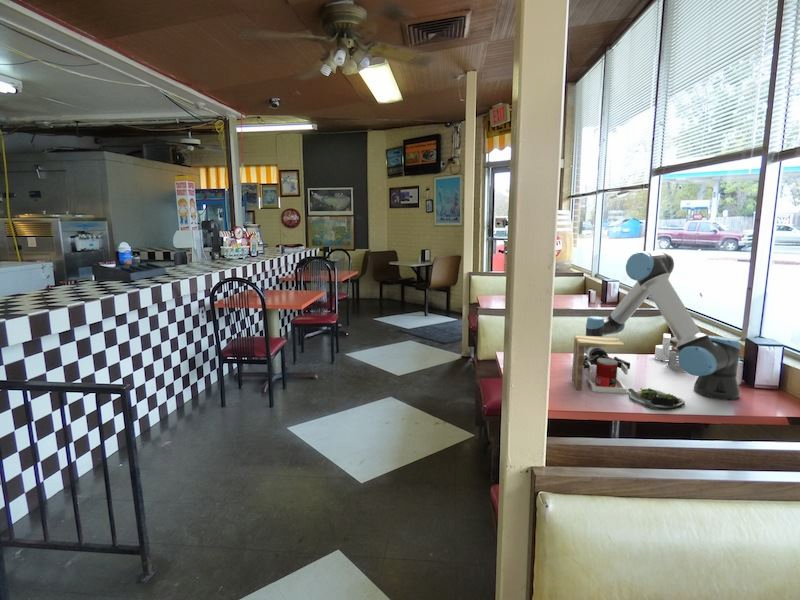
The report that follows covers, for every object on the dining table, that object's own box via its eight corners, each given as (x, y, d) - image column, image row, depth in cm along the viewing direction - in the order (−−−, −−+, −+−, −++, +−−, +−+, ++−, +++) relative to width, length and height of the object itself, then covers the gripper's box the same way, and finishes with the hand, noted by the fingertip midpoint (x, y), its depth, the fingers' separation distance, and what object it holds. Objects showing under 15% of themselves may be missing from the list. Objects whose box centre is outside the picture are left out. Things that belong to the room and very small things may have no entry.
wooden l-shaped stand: (571, 380, 198) (574, 335, 195) (613, 382, 195) (617, 337, 191) (576, 389, 187) (579, 342, 183) (620, 392, 183) (624, 344, 180)
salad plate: (614, 396, 181) (614, 385, 180) (644, 389, 188) (645, 378, 188) (658, 414, 164) (660, 402, 163) (690, 406, 171) (692, 394, 170)
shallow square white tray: (586, 380, 198) (586, 376, 197) (618, 382, 195) (618, 378, 195) (592, 391, 185) (592, 386, 185) (626, 393, 183) (626, 388, 182)
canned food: (613, 390, 185) (615, 364, 183) (592, 386, 190) (594, 361, 188) (617, 385, 191) (619, 360, 189) (597, 381, 196) (599, 356, 194)
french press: (694, 371, 209) (700, 318, 204) (668, 371, 209) (674, 318, 204) (681, 364, 218) (687, 314, 214) (657, 364, 218) (662, 314, 214)
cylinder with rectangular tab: (675, 362, 222) (677, 338, 220) (654, 359, 227) (656, 336, 224) (675, 357, 230) (677, 334, 228) (654, 355, 234) (656, 332, 232)
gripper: (626, 364, 204) (640, 381, 184) (568, 361, 209) (576, 377, 189) (627, 348, 203) (642, 363, 182) (569, 346, 208) (577, 359, 187)
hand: (608, 370), depth 186 cm, fingers open, 13 cm apart
